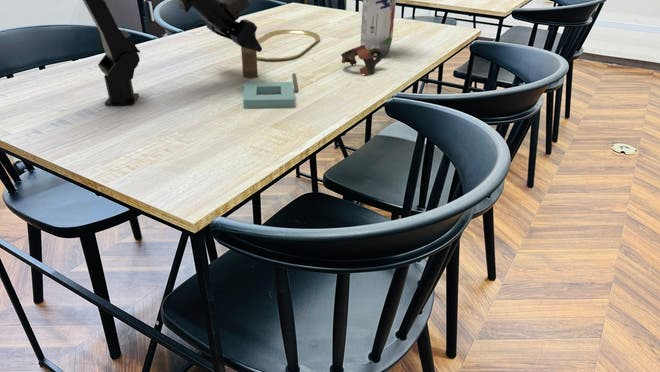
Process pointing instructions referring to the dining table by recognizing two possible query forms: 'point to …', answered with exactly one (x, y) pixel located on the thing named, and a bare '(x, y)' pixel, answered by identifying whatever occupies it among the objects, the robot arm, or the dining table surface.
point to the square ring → (268, 100)
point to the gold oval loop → (289, 31)
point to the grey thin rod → (295, 82)
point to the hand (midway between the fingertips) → (252, 46)
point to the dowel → (249, 62)
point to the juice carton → (377, 24)
